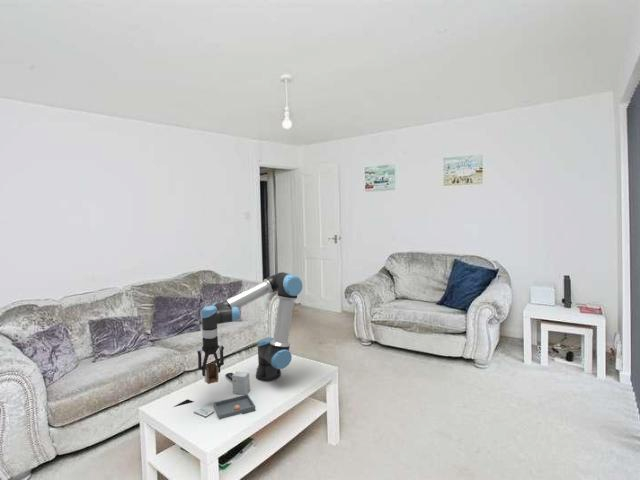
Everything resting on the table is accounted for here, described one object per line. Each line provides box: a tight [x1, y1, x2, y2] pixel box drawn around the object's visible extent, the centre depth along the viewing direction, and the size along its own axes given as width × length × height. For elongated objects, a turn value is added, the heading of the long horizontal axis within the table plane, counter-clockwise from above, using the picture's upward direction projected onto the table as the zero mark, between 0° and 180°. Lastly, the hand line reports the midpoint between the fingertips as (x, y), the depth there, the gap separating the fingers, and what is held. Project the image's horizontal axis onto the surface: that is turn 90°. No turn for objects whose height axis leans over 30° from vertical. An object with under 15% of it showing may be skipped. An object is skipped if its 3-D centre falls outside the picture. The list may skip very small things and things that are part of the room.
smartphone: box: [173, 399, 195, 408], centre depth 188 cm, size 8×17×1 cm, turn 149°
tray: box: [213, 393, 257, 420], centre depth 186 cm, size 18×14×2 cm
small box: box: [231, 371, 251, 396], centre depth 204 cm, size 8×6×10 cm
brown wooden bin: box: [206, 362, 219, 385], centre depth 190 cm, size 5×6×8 cm
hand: (211, 380), depth 190 cm, fingers closed on brown wooden bin, 5 cm apart
